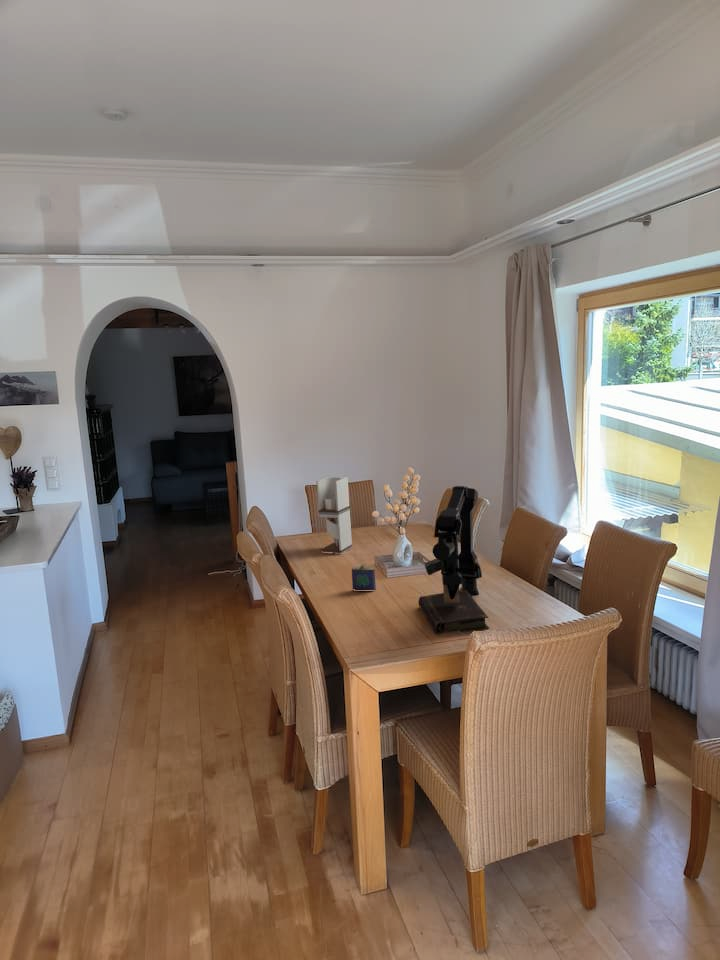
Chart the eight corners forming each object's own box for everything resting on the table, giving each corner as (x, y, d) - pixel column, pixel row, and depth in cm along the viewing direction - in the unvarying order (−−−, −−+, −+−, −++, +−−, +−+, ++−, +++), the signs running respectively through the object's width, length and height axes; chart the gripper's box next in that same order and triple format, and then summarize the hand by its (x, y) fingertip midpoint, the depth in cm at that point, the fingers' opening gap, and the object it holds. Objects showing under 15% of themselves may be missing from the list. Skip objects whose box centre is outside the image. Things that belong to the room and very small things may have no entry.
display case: (333, 546, 313) (328, 477, 307) (352, 548, 308) (347, 477, 303) (321, 553, 303) (316, 481, 297) (341, 554, 298) (336, 481, 293)
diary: (435, 637, 202) (434, 622, 201) (418, 609, 227) (417, 595, 226) (491, 630, 204) (491, 615, 203) (469, 603, 228) (468, 589, 228)
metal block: (443, 597, 217) (443, 580, 216) (458, 596, 216) (457, 579, 215) (444, 602, 212) (443, 585, 211) (459, 602, 212) (459, 584, 211)
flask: (376, 589, 248) (374, 563, 246) (375, 592, 245) (373, 565, 243) (353, 589, 250) (351, 563, 248) (351, 591, 247) (350, 565, 245)
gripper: (424, 544, 221) (426, 587, 224) (426, 560, 203) (428, 607, 206) (456, 543, 220) (458, 586, 223) (461, 559, 202) (463, 606, 205)
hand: (451, 596), depth 214 cm, fingers closed on metal block, 5 cm apart
